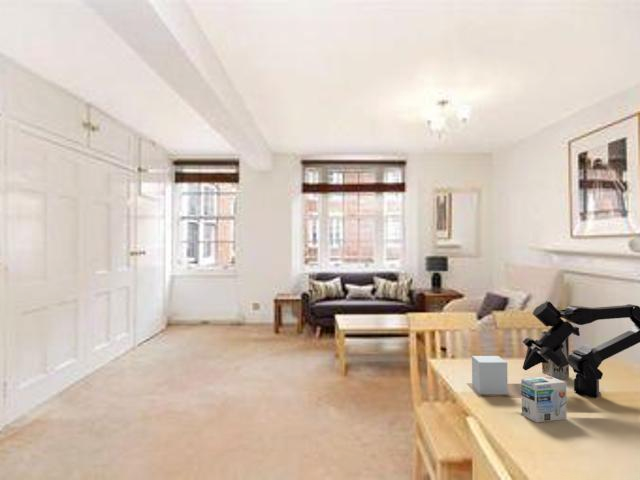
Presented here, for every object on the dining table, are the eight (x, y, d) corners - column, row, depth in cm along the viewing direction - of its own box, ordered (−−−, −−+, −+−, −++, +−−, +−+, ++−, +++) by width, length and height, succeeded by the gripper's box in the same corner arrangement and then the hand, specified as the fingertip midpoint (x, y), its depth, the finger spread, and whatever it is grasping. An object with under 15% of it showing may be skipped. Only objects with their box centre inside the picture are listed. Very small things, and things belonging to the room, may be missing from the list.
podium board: (523, 387, 163) (523, 383, 163) (541, 401, 148) (541, 397, 148) (466, 386, 164) (466, 383, 164) (478, 400, 149) (478, 397, 149)
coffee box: (570, 378, 173) (569, 335, 173) (552, 378, 173) (551, 335, 173) (557, 372, 182) (557, 331, 182) (541, 372, 182) (540, 331, 182)
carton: (498, 386, 161) (498, 355, 161) (507, 394, 152) (507, 362, 152) (472, 386, 161) (471, 355, 161) (479, 394, 152) (479, 362, 152)
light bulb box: (536, 423, 130) (536, 385, 130) (520, 415, 137) (519, 378, 137) (567, 419, 133) (567, 381, 133) (550, 411, 140) (549, 375, 140)
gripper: (588, 359, 146) (554, 395, 146) (561, 346, 164) (530, 378, 165) (562, 334, 146) (527, 370, 147) (537, 324, 165) (507, 356, 165)
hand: (523, 369), depth 156 cm, fingers closed
